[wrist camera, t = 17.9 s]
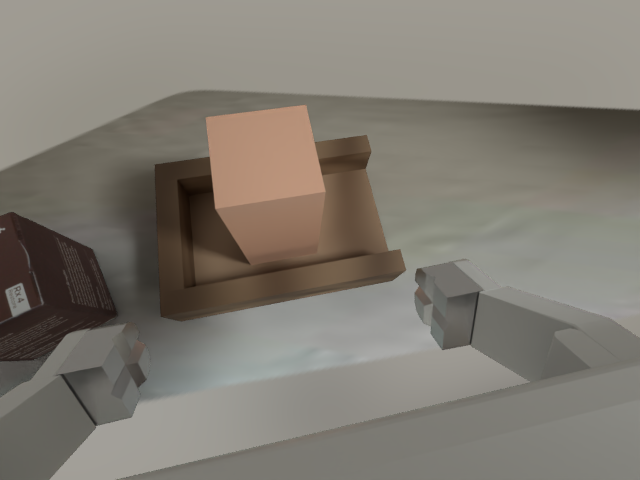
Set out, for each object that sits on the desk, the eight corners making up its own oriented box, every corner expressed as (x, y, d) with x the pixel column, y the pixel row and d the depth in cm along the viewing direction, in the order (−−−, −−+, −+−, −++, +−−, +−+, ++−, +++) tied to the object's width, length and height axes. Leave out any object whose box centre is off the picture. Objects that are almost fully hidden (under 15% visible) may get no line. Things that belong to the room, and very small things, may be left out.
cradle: (359, 160, 28) (366, 135, 25) (392, 280, 25) (406, 270, 21) (173, 187, 26) (154, 164, 23) (181, 321, 23) (160, 316, 20)
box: (12, 285, 23) (-113, 258, 16) (95, 247, 24) (12, 207, 17) (33, 362, 22) (-95, 369, 15) (121, 318, 23) (41, 304, 16)
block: (305, 194, 26) (305, 104, 16) (317, 253, 24) (325, 191, 15) (242, 204, 25) (205, 117, 16) (251, 265, 23) (215, 208, 14)
